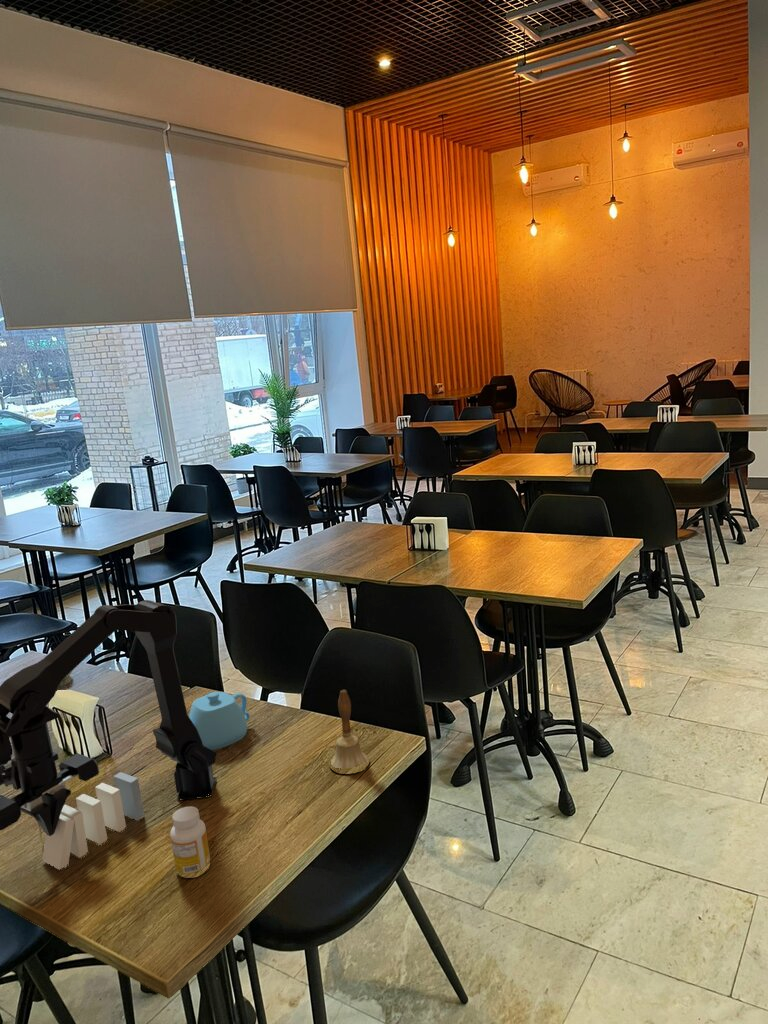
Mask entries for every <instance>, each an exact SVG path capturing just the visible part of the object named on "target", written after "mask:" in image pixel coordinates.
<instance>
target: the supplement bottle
mask: <svg viewBox="0 0 768 1024" xmlns="http://www.w3.org/2000/svg"><path fill="white" fill-rule="evenodd" d="M171 818H172V824H173V826H172V827H171V829H170V833H169V836H170V843H171V847H172V853H173V854H172V855H173V859H174V860H173V861H174V867H175V871H176V870H177V871H178V872H179V873H183V874H187V873H188V874H189V873H193V872H197V871H199V870H201V869H203V868H204V867H206V866H207V864H208V863H209V862H210V860H211V856H210V855H211V854H210V849H209V840H208V833H207V829H206V824H205V822H204V821H203V820H202V819H200V812H199V809H198V808H197V807H195V806H184V807H181V808H179V809H177V810H176V811H174V812H173V814H172V817H171Z"/></svg>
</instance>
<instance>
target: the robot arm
mask: <svg viewBox="0 0 768 1024" xmlns="http://www.w3.org/2000/svg"><path fill="white" fill-rule="evenodd" d="M116 631H127V632H128V631H129V632H134V633H135V635H136V637H137V639H138V640H139V642H140V643H141V644H142V646H143V647H144V649H145V651H146V653H147V658H148V659H147V660H148V663H149V667H150V672H151V676H152V680H153V685H154V689H155V694H156V698H157V703H158V707H159V711H160V716H161V721H160V725H159V726H158V727H157V728H154V729H153V730H152V733H153V735H154V737H155V743H156V744H155V748H156V749H158V750H159V751H160V752H161V753H162V754H163V755H164V756H167V757H168V758H170V760H172V761H175V762H176V765H175V770H174V773H173V778H174V784H175V792H176V793H178V795H177V797H176V798H177V800H178V799H179V800H178V801H181V800H180V799H187V800H190V799H189V798H197V797H206V796H207V798H209V797H208V796H210V795H211V794H212V795H213V792H214V789H213V787H214V788H215V786H214V784H215V785H216V783H215V781H217V777H216V776H214V772H213V765H214V764H215V763H216V758H217V752H216V750H211V749H209V748H207V747H205V746H204V745H203V742H202V740H201V737H200V735H199V732H198V730H197V728H196V727H195V725H194V724H193V722H192V721H191V719H190V718H189V715H188V710H187V706H186V702H185V697H184V692H183V688H182V683H181V678H180V674H179V669H178V665H177V661H176V660H177V659H176V656H175V654H176V653H175V651H174V644H175V641H176V636H177V633H178V632H177V615H176V612H175V611H174V609H173V608H171V607H170V606H168V605H165V604H163V603H159V602H157V601H154V600H150V599H144V600H141V601H139V602H138V603H136V604H124V603H123V604H117V605H115V604H114V605H110V604H105V605H100V606H98V607H96V609H95V611H94V612H93V614H92V615H91V616H89V618H87V619H86V620H85V621H84V622H83V623H82V624H80V626H78V627H77V628H76V629H75V630H74V631H73V632H71V633H70V634H69V636H67V637H66V638H65V639H64V640H62V642H60V643H59V644H58V645H57V646H56V647H55V648H54V649H53V650H52V651H50V652H49V653H48V654H47V655H46V656H45V657H43V658H42V659H41V660H39V661H38V662H36V663H34V664H32V665H29V666H27V667H24V668H22V669H20V670H19V671H17V672H16V673H14V674H12V676H10V677H9V678H7V679H6V680H4V681H3V683H1V685H0V787H1V786H2V785H4V786H5V787H9V786H10V785H12V788H13V789H15V790H16V791H18V790H21V792H20V793H19V794H16V795H15V796H13V797H12V798H9V797H7V796H5V795H3V794H0V831H3V830H5V829H6V828H8V827H10V826H12V825H14V824H15V823H17V822H18V821H19V819H20V817H21V815H22V813H25V814H27V815H28V816H31V817H33V818H34V819H35V821H36V823H38V825H39V826H40V827H41V829H42V830H43V832H44V833H45V836H46V835H48V836H51V835H53V834H54V833H55V830H56V826H57V823H58V820H59V817H60V814H61V811H62V809H63V806H64V805H66V801H67V798H68V797H69V796H71V794H72V790H70V789H68V788H67V786H66V782H68V781H69V780H71V779H73V778H75V777H76V776H78V779H79V780H80V781H84V782H88V781H90V780H91V779H93V778H94V777H96V776H98V775H99V774H100V769H99V763H98V762H97V761H96V759H94V758H91V757H89V756H88V755H87V756H86V755H84V754H81V753H75V754H74V755H72V756H70V757H68V758H66V759H65V760H63V761H61V762H60V763H59V765H58V768H59V771H57V765H56V761H57V760H59V756H58V755H59V754H58V753H57V752H54V750H53V744H52V741H51V734H50V731H49V726H48V723H49V722H51V721H53V720H57V719H58V718H60V713H59V712H57V711H55V710H54V709H52V708H50V707H48V705H49V704H50V702H51V701H52V699H53V698H54V697H55V695H56V693H57V691H58V689H59V687H60V686H59V684H60V683H61V682H62V680H63V679H64V678H65V677H66V676H67V675H68V674H69V673H70V672H71V671H72V672H73V670H75V669H76V668H77V667H78V666H79V665H80V664H81V663H82V662H83V661H84V660H86V658H88V656H90V654H92V653H93V652H94V651H95V650H96V649H97V648H98V647H99V646H101V644H103V643H104V641H106V640H108V638H110V636H111V635H112V634H114V632H116ZM58 686H59V687H58ZM9 713H10V714H11V717H8V715H9ZM12 755H13V757H14V758H12ZM8 762H10V763H8ZM212 791H213V792H212ZM208 794H209V795H208ZM197 799H198V798H197Z"/></svg>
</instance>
